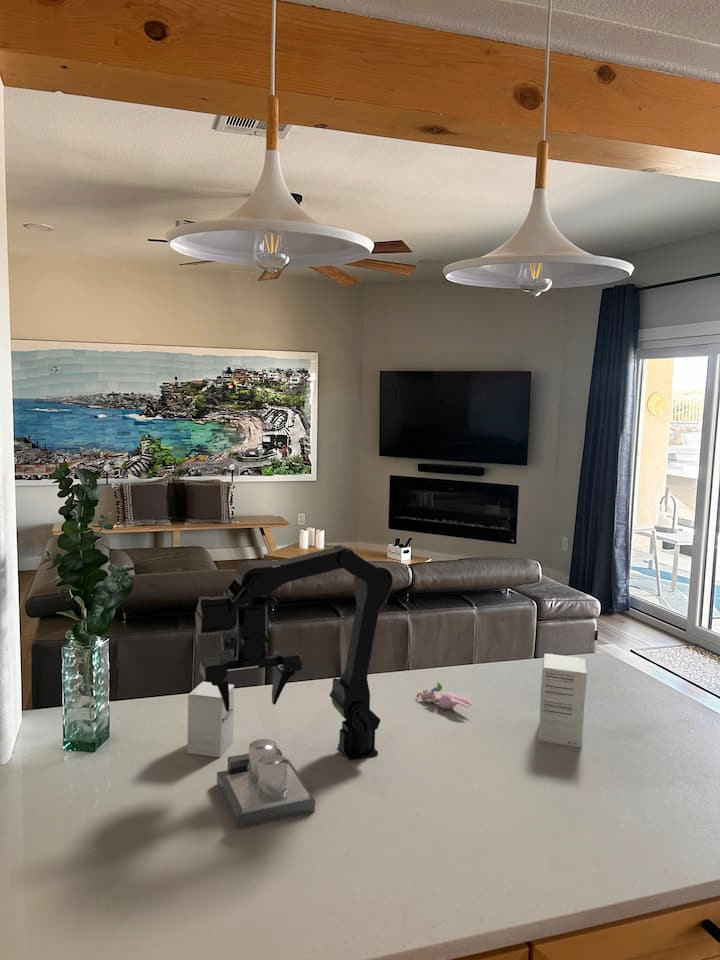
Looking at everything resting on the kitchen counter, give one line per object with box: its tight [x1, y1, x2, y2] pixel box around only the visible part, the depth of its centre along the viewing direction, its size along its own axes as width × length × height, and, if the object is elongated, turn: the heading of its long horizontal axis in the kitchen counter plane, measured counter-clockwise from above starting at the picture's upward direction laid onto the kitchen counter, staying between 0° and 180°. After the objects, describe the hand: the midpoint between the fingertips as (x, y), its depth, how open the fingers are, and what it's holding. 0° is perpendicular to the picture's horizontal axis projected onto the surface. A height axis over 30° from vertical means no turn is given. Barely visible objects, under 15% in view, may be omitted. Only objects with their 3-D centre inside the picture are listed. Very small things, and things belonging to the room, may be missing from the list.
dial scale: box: [216, 747, 316, 829], centre depth 130 cm, size 14×15×5 cm
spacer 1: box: [248, 738, 278, 784], centre depth 132 cm, size 5×5×6 cm
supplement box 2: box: [538, 653, 588, 748], centre depth 158 cm, size 10×9×17 cm
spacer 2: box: [258, 754, 288, 802], centre depth 126 cm, size 5×5×6 cm
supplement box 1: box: [186, 681, 235, 758], centre depth 148 cm, size 7×7×13 cm
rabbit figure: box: [416, 682, 473, 710], centre depth 172 cm, size 6×6×15 cm
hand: (250, 707), depth 138 cm, fingers open, 9 cm apart
